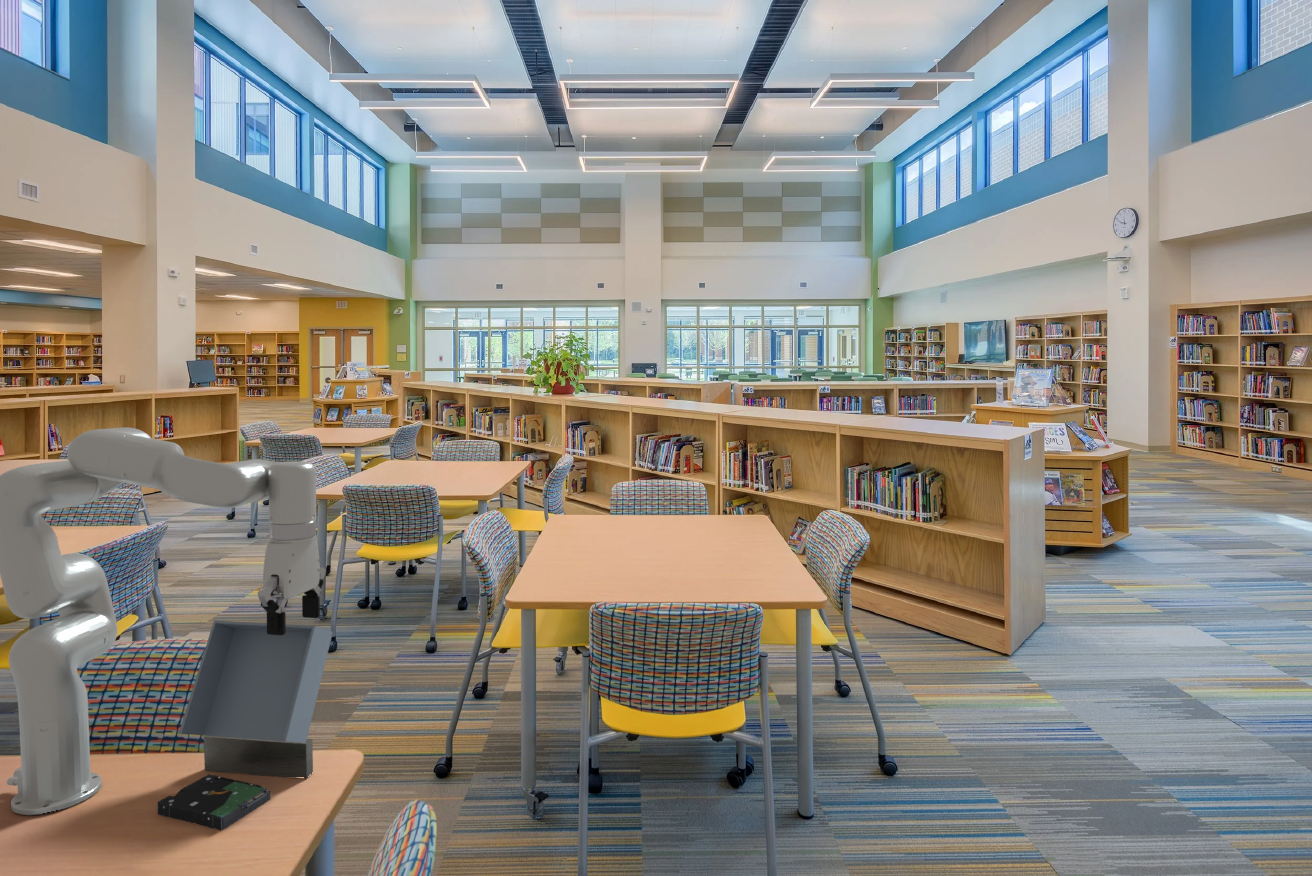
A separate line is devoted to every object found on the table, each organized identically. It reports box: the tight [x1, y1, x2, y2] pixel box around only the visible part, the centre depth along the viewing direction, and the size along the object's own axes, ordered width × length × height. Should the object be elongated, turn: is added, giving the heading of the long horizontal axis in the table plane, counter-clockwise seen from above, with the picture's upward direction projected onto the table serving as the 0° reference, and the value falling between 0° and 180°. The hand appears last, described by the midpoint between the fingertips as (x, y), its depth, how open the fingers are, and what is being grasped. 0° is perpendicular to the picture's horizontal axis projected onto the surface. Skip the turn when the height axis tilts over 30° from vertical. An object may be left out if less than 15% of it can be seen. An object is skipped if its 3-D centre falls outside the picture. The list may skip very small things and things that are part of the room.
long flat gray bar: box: [203, 735, 314, 778], centre depth 140 cm, size 21×2×7 cm, turn 83°
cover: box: [178, 620, 334, 743], centre depth 140 cm, size 21×20×7 cm
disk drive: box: [157, 773, 271, 831], centre depth 129 cm, size 10×3×15 cm
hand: (294, 625), depth 131 cm, fingers open, 9 cm apart
